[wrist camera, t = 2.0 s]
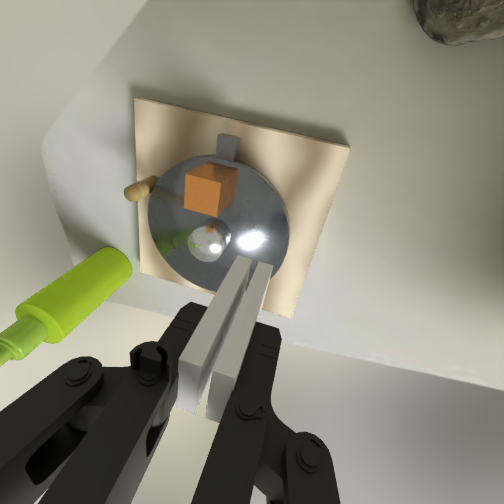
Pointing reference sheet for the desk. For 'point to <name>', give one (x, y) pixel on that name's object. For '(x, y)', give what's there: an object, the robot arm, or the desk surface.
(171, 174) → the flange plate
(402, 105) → the desk surface
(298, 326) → the desk surface
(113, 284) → the soap dispenser
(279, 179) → the post base
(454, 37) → the fossil
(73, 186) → the desk surface
